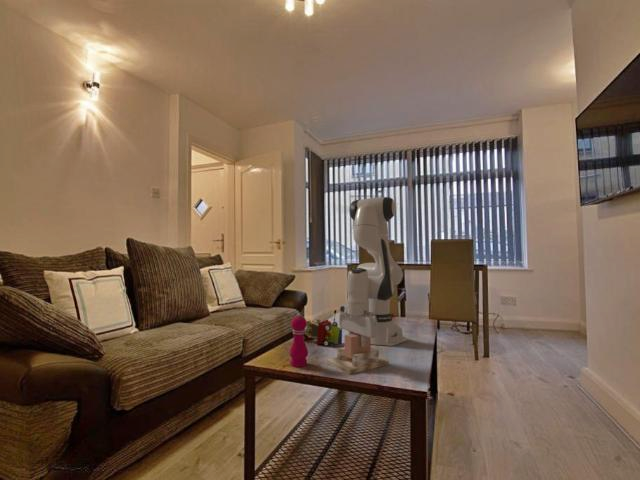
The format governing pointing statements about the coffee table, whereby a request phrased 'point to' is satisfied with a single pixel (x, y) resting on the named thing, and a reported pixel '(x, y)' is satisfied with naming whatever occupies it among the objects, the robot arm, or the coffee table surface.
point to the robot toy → (324, 332)
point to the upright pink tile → (355, 345)
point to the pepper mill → (298, 342)
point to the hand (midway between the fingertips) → (357, 344)
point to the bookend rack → (357, 361)
